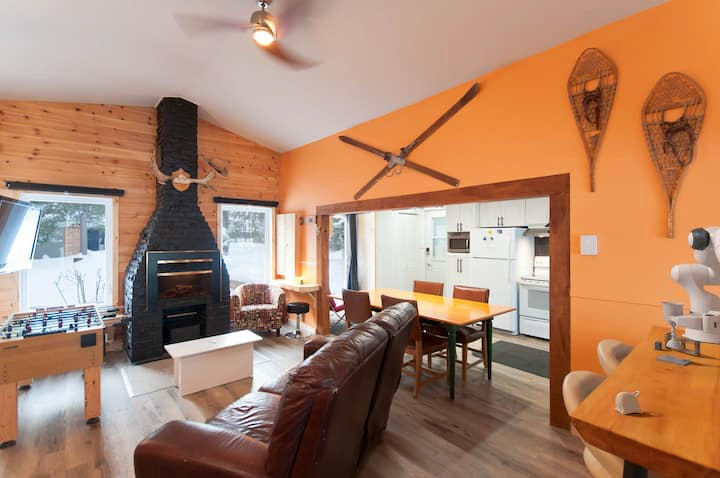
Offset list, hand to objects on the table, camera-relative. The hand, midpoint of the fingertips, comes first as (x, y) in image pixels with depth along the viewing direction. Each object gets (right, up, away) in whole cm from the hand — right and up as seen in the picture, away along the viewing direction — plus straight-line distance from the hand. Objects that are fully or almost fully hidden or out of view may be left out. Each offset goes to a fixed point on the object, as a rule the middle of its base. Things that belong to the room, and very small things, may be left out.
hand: (670, 316), depth 143 cm
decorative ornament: (-53, -17, -45) cm, 72 cm away
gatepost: (+16, -19, +17) cm, 30 cm away
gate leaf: (+15, -18, +10) cm, 25 cm away
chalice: (0, -12, -1) cm, 12 cm away
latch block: (+8, -19, +15) cm, 25 cm away
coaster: (0, -18, -1) cm, 18 cm away
